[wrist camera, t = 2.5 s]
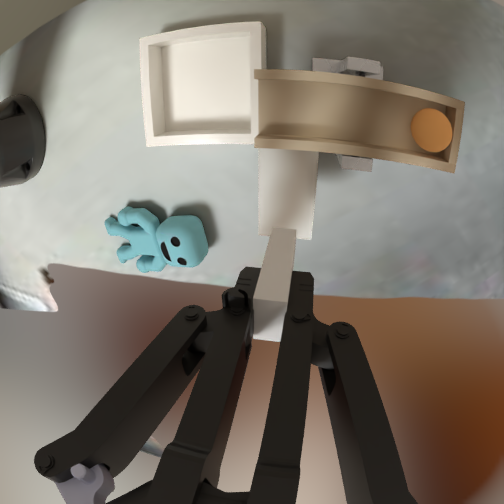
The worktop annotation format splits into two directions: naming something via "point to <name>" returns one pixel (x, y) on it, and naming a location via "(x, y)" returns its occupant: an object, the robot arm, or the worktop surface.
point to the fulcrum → (357, 69)
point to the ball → (431, 130)
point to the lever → (335, 134)
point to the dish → (202, 84)
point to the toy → (159, 239)
